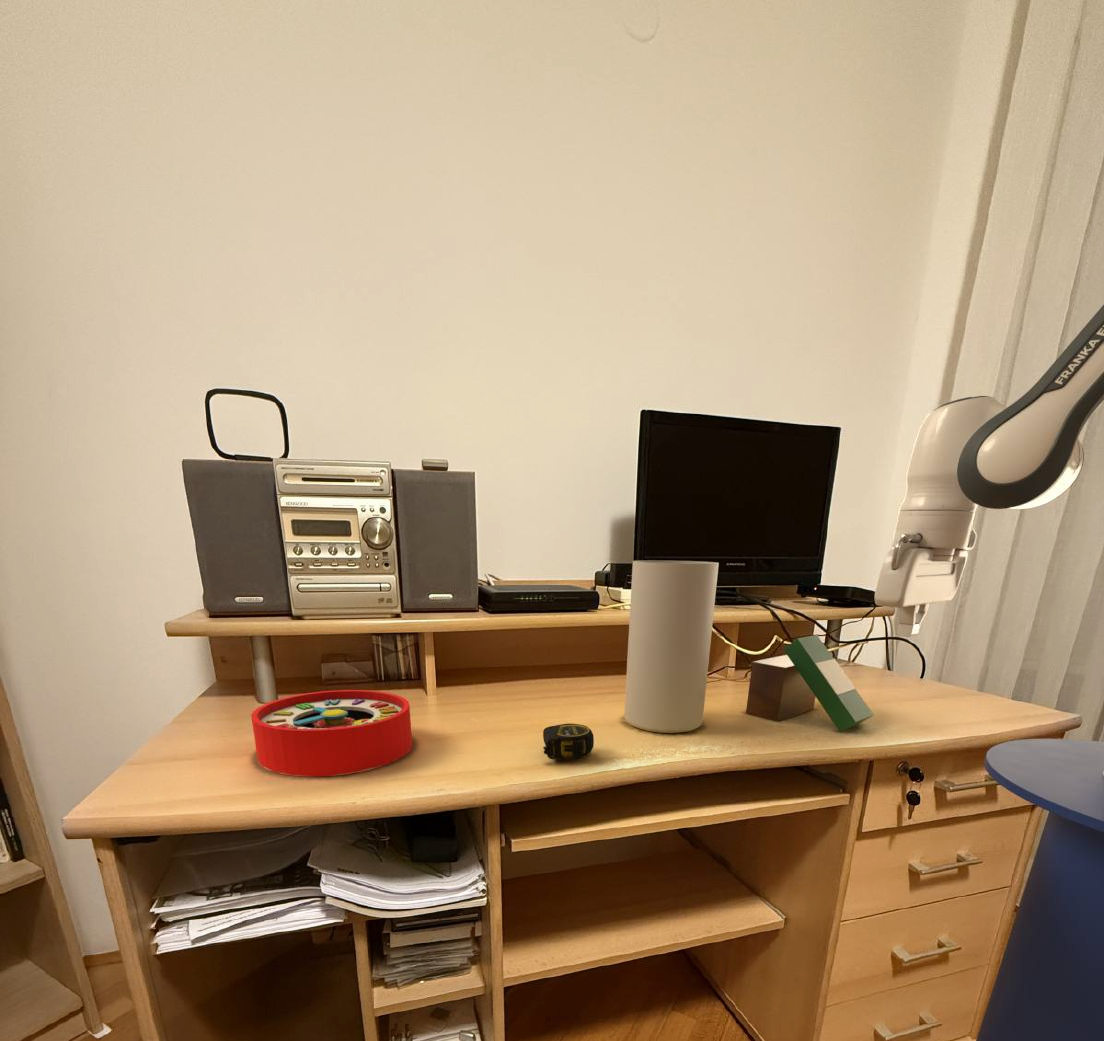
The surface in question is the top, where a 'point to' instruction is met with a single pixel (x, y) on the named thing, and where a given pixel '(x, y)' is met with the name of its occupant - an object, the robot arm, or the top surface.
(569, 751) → the tape measure
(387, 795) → the top surface
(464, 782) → the top surface
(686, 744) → the top surface
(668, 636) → the cylinder vase
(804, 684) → the block
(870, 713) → the block
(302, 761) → the toy clock
